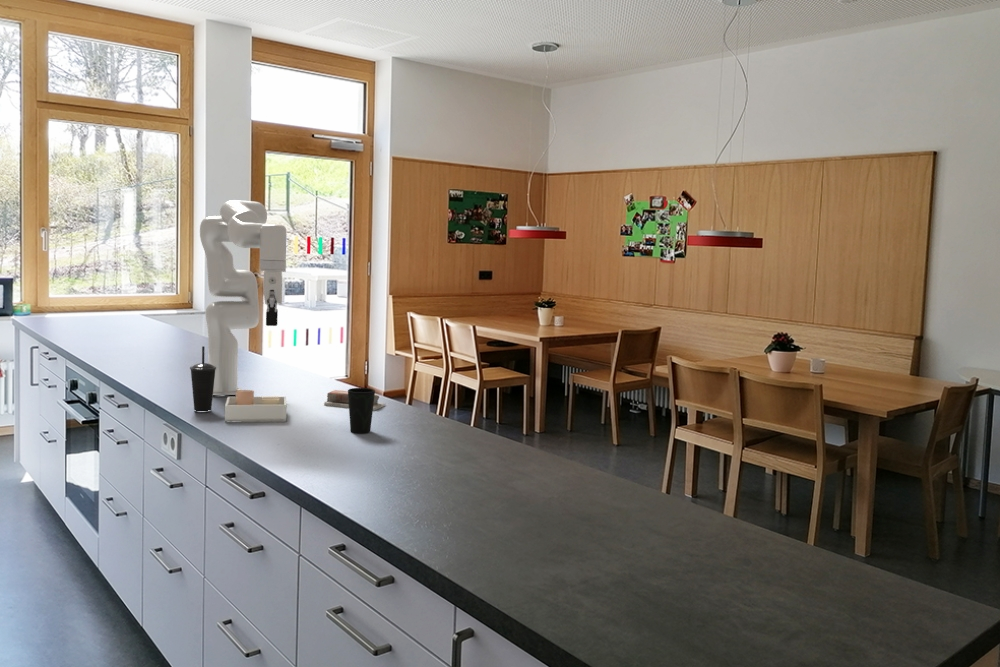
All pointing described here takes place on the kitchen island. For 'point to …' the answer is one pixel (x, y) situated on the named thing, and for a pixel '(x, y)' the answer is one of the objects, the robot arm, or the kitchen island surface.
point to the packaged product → (346, 400)
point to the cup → (360, 409)
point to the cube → (270, 400)
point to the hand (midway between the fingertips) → (271, 323)
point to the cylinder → (244, 397)
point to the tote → (255, 411)
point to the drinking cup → (202, 384)
